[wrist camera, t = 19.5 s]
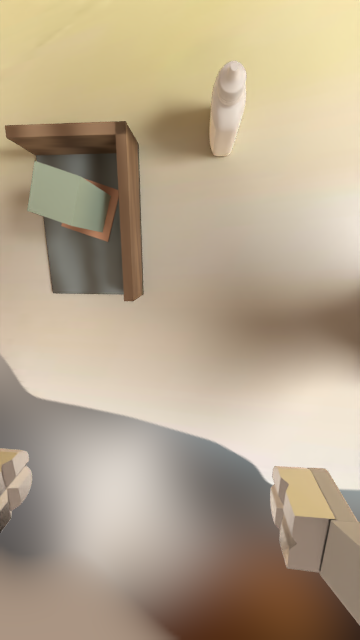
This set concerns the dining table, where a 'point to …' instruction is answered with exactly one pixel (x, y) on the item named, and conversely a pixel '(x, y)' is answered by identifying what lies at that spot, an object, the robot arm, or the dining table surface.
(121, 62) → the dining table surface
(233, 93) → the eye dropper bottle
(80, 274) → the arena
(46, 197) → the sage block
